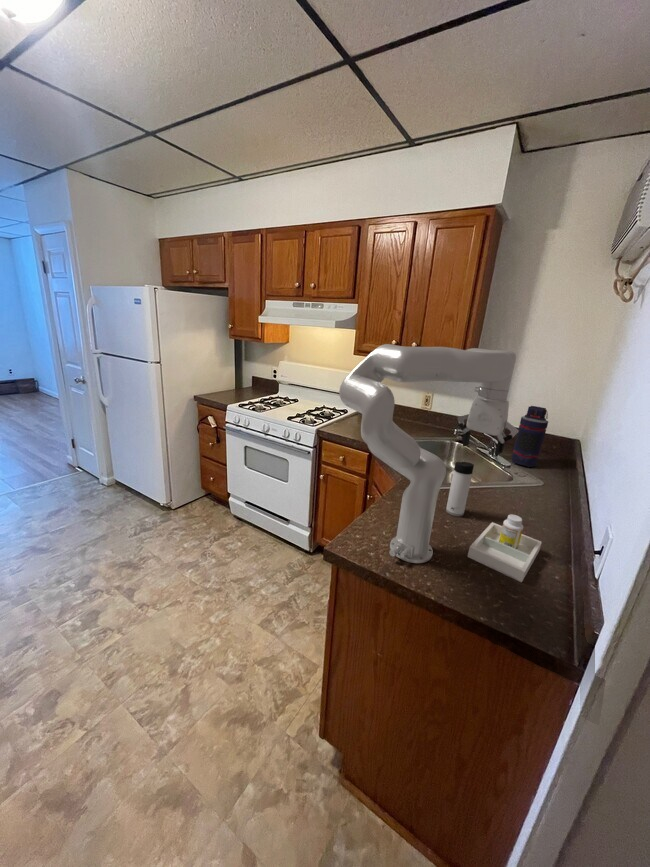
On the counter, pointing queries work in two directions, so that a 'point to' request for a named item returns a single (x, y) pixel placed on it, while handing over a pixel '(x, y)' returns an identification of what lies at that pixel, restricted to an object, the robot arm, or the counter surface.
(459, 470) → the travel mug
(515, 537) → the supplement bottle
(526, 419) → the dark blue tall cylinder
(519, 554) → the bay tray
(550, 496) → the counter surface
